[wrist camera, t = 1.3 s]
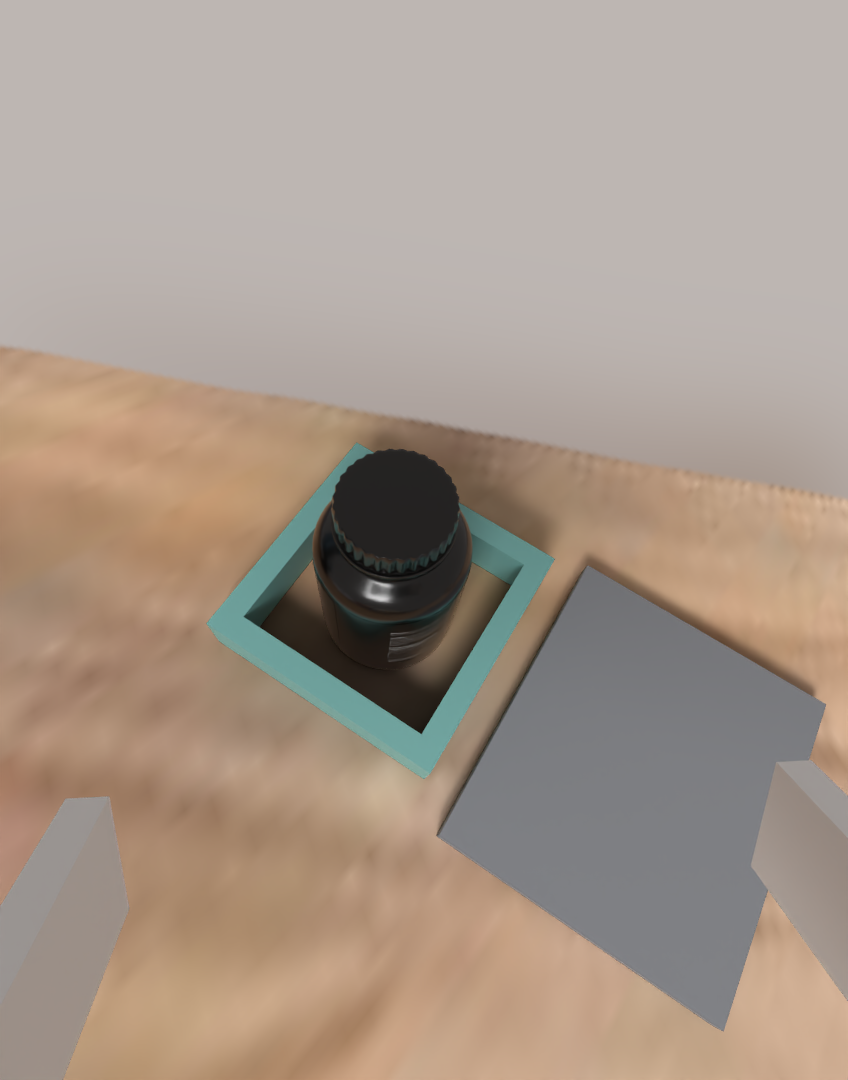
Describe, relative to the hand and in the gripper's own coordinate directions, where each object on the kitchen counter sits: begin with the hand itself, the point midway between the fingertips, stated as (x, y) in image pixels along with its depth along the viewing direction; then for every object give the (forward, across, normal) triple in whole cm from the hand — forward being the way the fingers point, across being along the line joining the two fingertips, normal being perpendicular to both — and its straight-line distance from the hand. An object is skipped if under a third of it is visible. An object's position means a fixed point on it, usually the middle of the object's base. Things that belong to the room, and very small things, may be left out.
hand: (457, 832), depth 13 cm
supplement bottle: (+21, 0, -5) cm, 22 cm away
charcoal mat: (+15, +12, -11) cm, 22 cm away
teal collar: (+21, 0, -5) cm, 22 cm away
